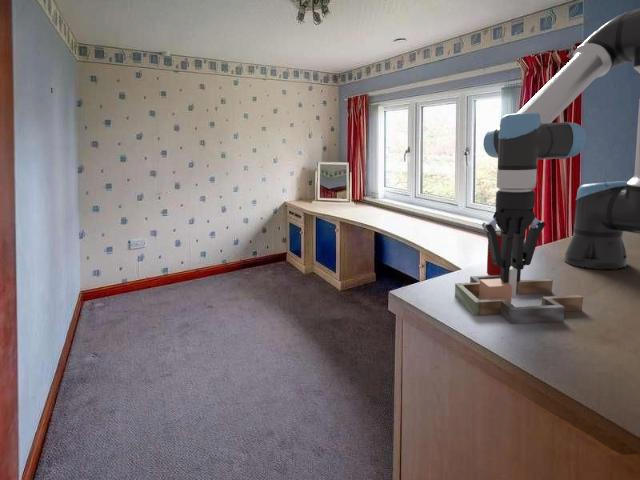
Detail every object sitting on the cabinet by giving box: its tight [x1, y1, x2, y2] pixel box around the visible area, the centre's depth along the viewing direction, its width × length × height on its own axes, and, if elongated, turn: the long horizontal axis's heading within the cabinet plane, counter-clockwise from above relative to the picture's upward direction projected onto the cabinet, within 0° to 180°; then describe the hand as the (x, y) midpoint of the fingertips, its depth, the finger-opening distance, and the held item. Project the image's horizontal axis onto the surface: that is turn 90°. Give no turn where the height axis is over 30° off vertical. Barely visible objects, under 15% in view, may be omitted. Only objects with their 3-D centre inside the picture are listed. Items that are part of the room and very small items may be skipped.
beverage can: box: [486, 229, 513, 276], centre depth 112 cm, size 7×7×12 cm
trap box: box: [454, 274, 584, 325], centre depth 94 cm, size 23×22×3 cm
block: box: [478, 279, 512, 304], centre depth 94 cm, size 5×5×5 cm
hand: (509, 295), depth 94 cm, fingers closed
